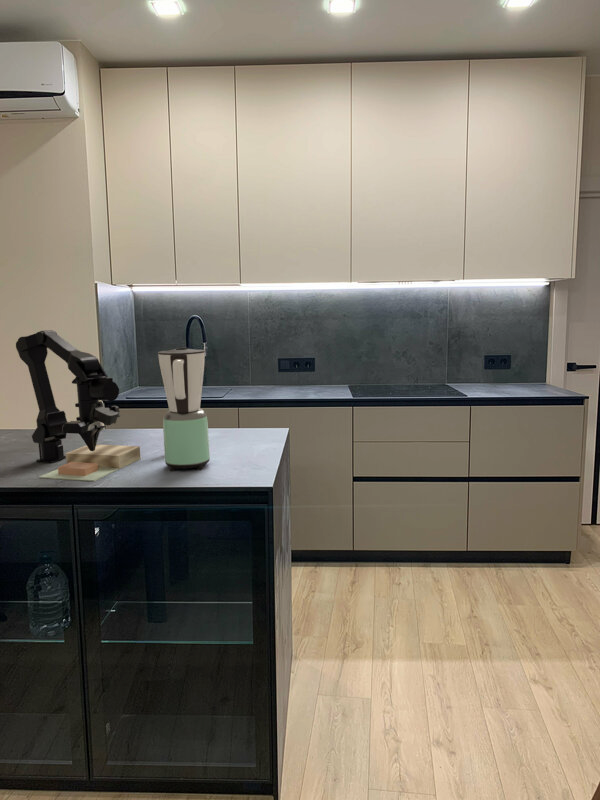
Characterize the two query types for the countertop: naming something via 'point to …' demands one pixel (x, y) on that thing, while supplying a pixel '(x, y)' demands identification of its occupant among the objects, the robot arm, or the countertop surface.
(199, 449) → the mint green blender
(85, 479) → the mat
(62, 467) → the tile
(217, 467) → the countertop surface
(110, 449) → the tan wooden flat block
